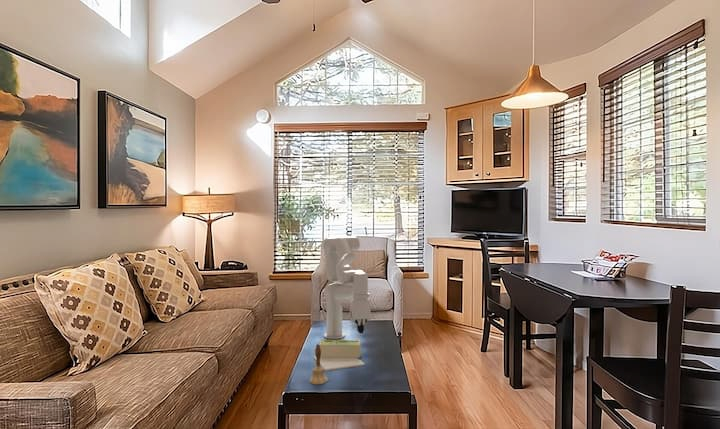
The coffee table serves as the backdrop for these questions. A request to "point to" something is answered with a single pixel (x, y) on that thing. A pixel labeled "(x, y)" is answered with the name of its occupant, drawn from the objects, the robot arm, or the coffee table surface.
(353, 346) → the toy refrigerator
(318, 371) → the hand bell
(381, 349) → the coffee table surface
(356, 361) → the sheet of paper
